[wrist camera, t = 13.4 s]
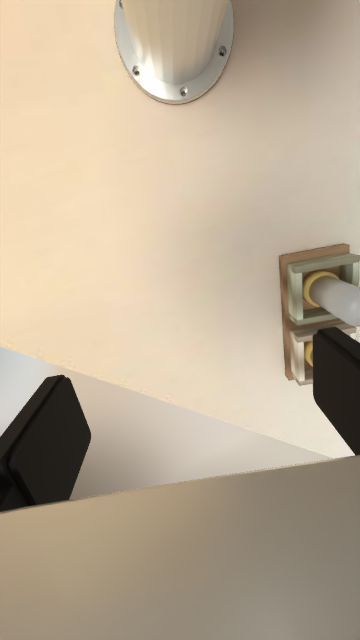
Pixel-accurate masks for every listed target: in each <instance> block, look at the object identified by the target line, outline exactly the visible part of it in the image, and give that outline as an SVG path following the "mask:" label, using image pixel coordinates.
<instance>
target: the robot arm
mask: <svg viewBox="0 0 360 640" xmlns="http://www.w3.org/2000/svg"><path fill="white" fill-rule="evenodd" d="M114 29H115V37H116V43H117V47H118V50H119V54H120V57H121V59H122V62H123V65H124V67H125V69H126V71H127V72H128V74H129V76H130V78H131V79H132V80H133V81H134V83H135V84H136V85H137V86H138V88H140V89H141V90H142V91H143V92H144V93H145V94H147V95H148V96H150V97H152V98H153V99H155V100H157V101H160V102H164V103H168V104H181V103H187V102H190V101H192V100H195V99H197V98H199V97H200V96H202V95H203V94H205V93H206V92H207V91H208V90H209V89H210V88H211V87H212V86H213V85H214V84H215V82H216V81H217V79H218V78H219V76H220V75H221V73H222V71H223V69H224V67H225V65H226V62H227V60H228V57H229V54H230V50H231V45H232V41H233V31H234V17H233V7H232V3H231V0H116V6H115V12H114ZM220 53H222V54H223V56H220V55H219V54H220ZM136 72H139V75H138V76H136V75H135V73H136ZM183 92H184V93H185V94H186V95H185V96H182V95H181V94H182V93H183ZM313 396H314V399H315V402H316V404H317V405H318V406H319V408H320V409H321V410H322V412H323V413H324V414H325V416H326V417H327V418H328V420H329V421H330V422H331V423H332V425H333V426H334V427H335V429H336V430H337V431H338V433H339V434H340V435H341V437H342V438H343V439H344V441H345V442H346V443H347V445H348V446H349V447H350V449H351V450H352V451H353V453H354V454H355V455H356V456H349V457H342V458H335V459H328V460H322V461H315V462H309V463H301V464H295V465H288V466H281V467H275V468H268V469H262V470H255V471H249V472H242V473H235V474H229V475H223V476H216V477H209V478H203V479H196V480H190V481H184V482H178V483H171V484H165V485H158V486H152V487H145V488H140V489H133V490H127V491H121V492H114V493H108V494H102V495H96V496H90V497H84V498H77V499H71V500H69V498H70V496H71V493H72V490H73V487H74V484H75V482H76V479H77V476H78V474H79V471H80V468H81V465H82V462H83V460H84V457H85V454H86V452H87V449H88V446H89V443H90V440H91V432H90V429H89V426H88V424H87V421H86V419H85V416H84V413H83V411H82V409H81V406H80V403H79V401H78V398H77V396H76V393H75V390H74V388H73V385H72V383H71V380H70V379H69V378H68V377H67V378H66V377H65V376H64V375H57V376H52V377H47V378H46V379H45V380H44V381H43V383H42V384H41V385H40V386H39V388H38V389H37V391H36V392H35V393H34V394H33V396H32V397H31V398H30V399H29V401H28V402H27V403H26V405H25V406H24V407H23V409H22V410H21V411H20V413H19V414H18V415H17V416H16V418H15V419H14V420H13V421H12V423H11V424H10V425H9V426H8V428H7V429H6V430H5V432H4V433H3V434H2V436H1V437H0V640H360V343H359V342H357V341H356V340H354V339H353V338H352V337H350V336H349V335H347V334H346V333H344V332H343V331H341V330H340V329H339V328H337V327H329V328H323V329H319V330H318V331H317V334H314V335H313Z"/></svg>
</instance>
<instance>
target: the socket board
mask: <svg viewBox="0 0 360 640" xmlns="http://www.w3.org/2000/svg"><path fill="white" fill-rule="evenodd" d="M349 247H350V245H348V244H339V245H333V246H328V247H323V248H318V249H312V250H307V251H302V252H296V253H291V254H286V255H281V256H279V268H280V286H281V304H282V323H283V341H284V359H285V375H286V377H287V378H288V380H294V379H295V380H296V382H297V383H298V385H299V386H301V385H307V384H313V367H312V366H311V365H310V364H309V363H308V362H307V361H306V360H305V359H304V342H306V341H312V340H313V335H314V334H317V331H318V330H319V329H323V328H329V327H337V328H339V329H340V330H341V331H343V332H344V333H346V334H347V335H349V336H350V337H352V338H353V339H354V340H356V327H355V326H351V325H349V324H347V323H346V322H344V321H343V320H341V319H340V318H338V317H336V316H335V315H333V314H332V313H330V312H328V311H327V310H325V309H324V308H322V307H316V306H313V305H311V304H310V303H308V302H307V301H305V300H304V299H303V294H302V279H303V278H304V277H305V276H306V275H307V274H308V273H309V272H311V271H314V270H324V271H327V272H330V273H333V274H335V275H336V276H337V277H338V278H339V279H340V280H342V281H344V282H347V283H349V284H352V285H354V286H357V287H358V284H359V264H360V255H355V254H351V253H349Z"/></svg>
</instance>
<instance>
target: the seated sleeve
mask: <svg viewBox="0 0 360 640" xmlns="http://www.w3.org/2000/svg"><path fill="white" fill-rule="evenodd" d="M302 294H303V299H304V300H305V301H307V302H308V303H310V304H311V305H313V306H316V307H322V308H324V309H325V310H327V311H328V312H330V313H332V314H333V315H335V316H336V317H338V318H340V319H341V320H343V321H344V322H346V323H347V324H349V325H351V326H360V288H359V287H357V286H354V285H352V284H349V283H347V282H344V281H342V280H340V279H339V278H338V277H337V276H336V275H335V274H333V273H330V272H327V271H324V270H314V271H311V272H309V273H308V274H307V275H306V276H305V277H304V278H303V279H302Z"/></svg>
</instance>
